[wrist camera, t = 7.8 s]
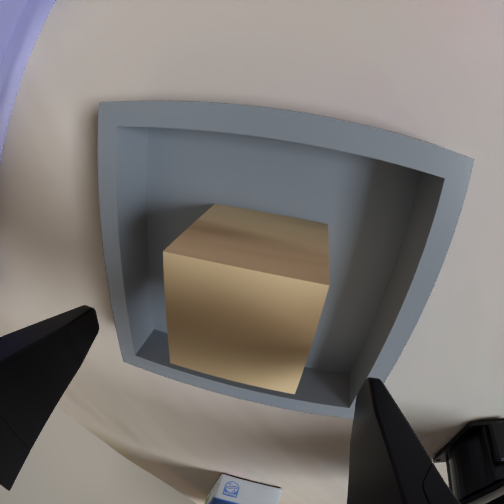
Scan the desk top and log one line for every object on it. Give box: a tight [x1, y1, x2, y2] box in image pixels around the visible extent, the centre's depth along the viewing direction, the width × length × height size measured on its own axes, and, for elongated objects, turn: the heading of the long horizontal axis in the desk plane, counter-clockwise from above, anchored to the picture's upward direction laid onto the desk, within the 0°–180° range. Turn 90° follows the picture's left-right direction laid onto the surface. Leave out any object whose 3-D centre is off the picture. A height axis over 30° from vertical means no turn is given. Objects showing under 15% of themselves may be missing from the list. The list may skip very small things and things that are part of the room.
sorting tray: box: [98, 101, 474, 419], centre depth 13 cm, size 14×14×3 cm
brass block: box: [163, 204, 329, 394], centre depth 12 cm, size 5×5×5 cm
